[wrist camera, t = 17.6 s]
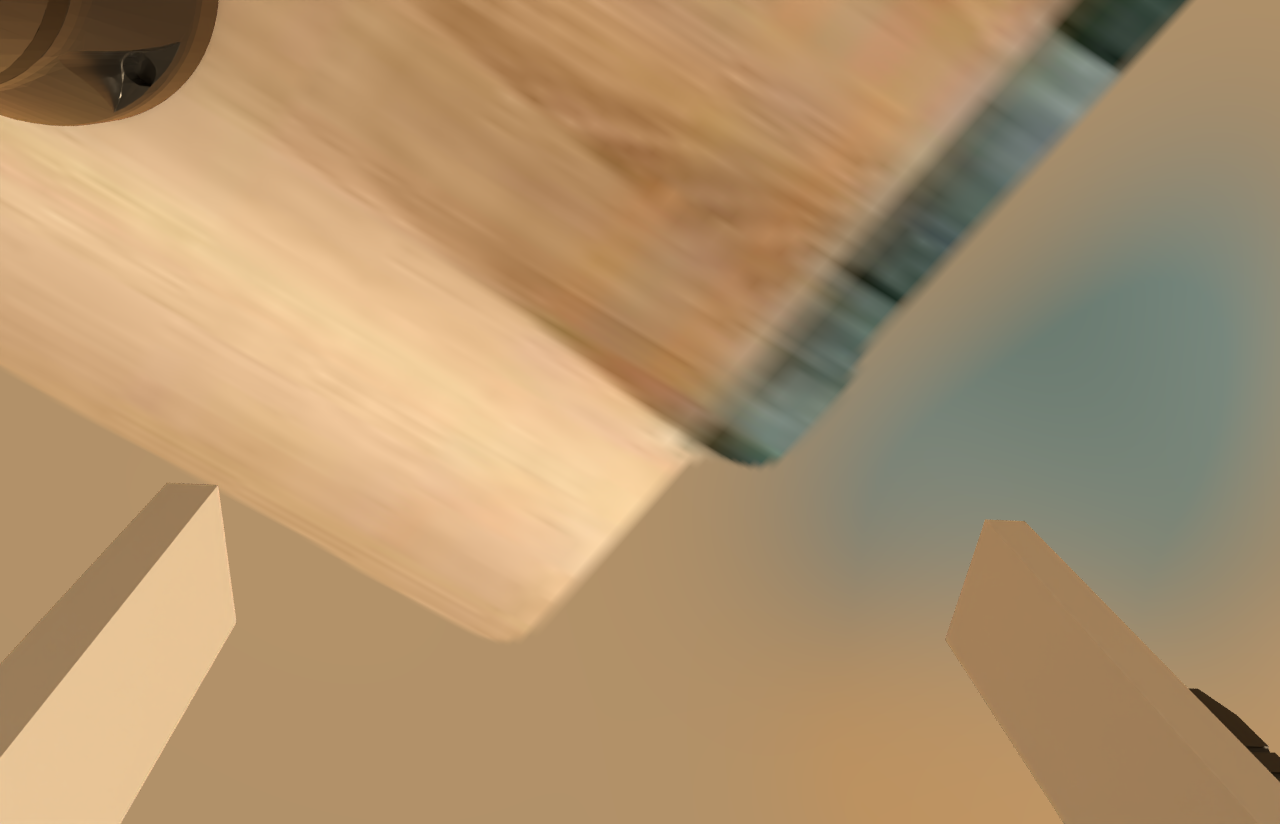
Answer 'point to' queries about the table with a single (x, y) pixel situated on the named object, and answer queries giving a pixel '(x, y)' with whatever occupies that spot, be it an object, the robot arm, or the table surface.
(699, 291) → the table surface
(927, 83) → the table surface
